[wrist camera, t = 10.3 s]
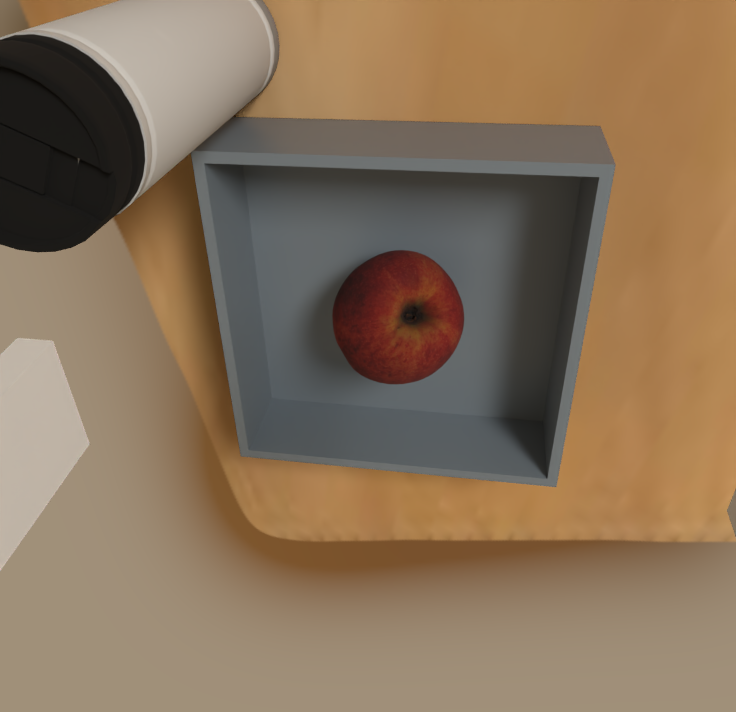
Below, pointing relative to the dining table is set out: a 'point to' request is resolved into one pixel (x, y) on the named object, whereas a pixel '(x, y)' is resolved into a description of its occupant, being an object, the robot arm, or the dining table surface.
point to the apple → (398, 317)
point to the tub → (413, 233)
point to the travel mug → (117, 106)
